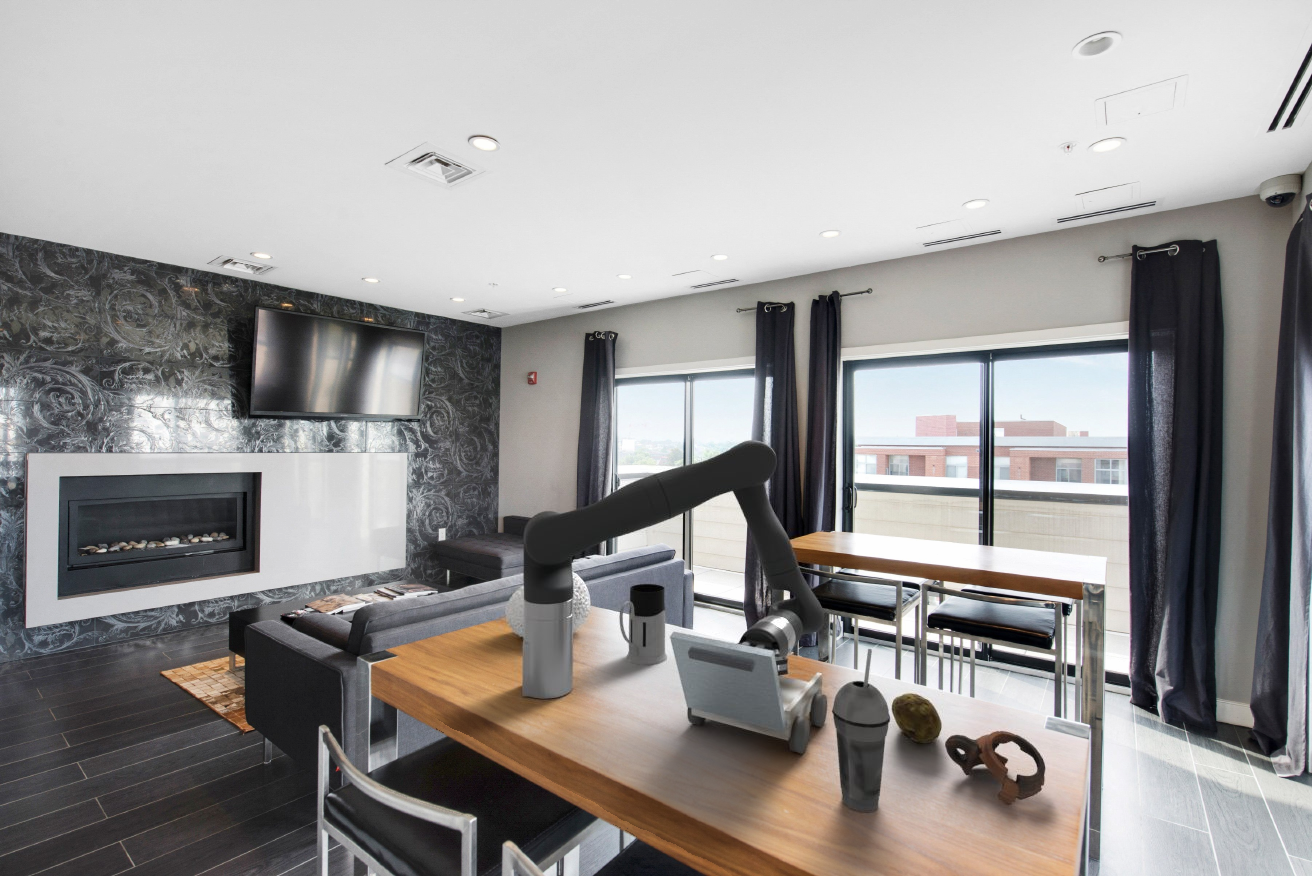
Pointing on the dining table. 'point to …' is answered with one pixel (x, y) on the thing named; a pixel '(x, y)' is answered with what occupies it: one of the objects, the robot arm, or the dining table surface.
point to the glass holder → (645, 624)
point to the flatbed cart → (797, 706)
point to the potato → (916, 718)
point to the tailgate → (730, 680)
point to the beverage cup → (861, 741)
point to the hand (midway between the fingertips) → (729, 678)
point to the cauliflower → (579, 607)
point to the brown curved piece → (998, 762)
